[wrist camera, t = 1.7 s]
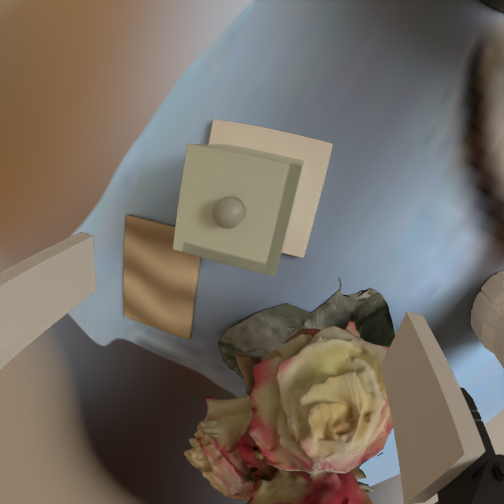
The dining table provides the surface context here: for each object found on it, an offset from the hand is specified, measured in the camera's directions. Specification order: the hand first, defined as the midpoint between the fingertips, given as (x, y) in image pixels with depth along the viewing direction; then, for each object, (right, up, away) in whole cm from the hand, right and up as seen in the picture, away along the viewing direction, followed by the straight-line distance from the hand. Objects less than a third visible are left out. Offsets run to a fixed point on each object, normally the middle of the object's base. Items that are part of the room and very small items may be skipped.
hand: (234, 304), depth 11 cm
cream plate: (+2, +9, +22) cm, 23 cm away
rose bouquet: (+9, -14, +29) cm, 33 cm away
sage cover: (+2, +9, +21) cm, 22 cm away
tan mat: (-12, -2, +28) cm, 31 cm away
